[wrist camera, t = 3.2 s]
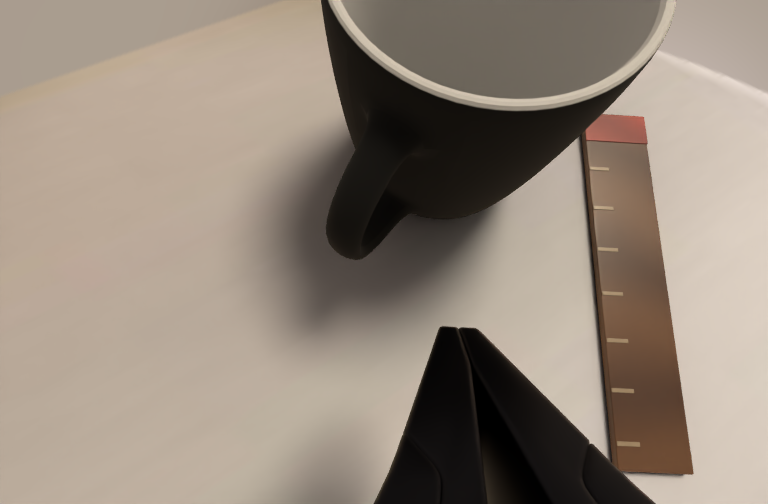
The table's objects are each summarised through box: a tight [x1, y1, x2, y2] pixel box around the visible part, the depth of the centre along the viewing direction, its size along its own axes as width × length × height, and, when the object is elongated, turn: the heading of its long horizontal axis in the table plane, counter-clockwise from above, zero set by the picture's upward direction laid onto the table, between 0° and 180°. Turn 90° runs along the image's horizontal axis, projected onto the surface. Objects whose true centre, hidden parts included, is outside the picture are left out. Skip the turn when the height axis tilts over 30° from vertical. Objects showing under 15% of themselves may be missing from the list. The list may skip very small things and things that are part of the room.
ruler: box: [581, 114, 694, 475], centre depth 18 cm, size 16×3×1 cm, turn 177°
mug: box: [321, 0, 676, 260], centre depth 15 cm, size 12×9×10 cm
